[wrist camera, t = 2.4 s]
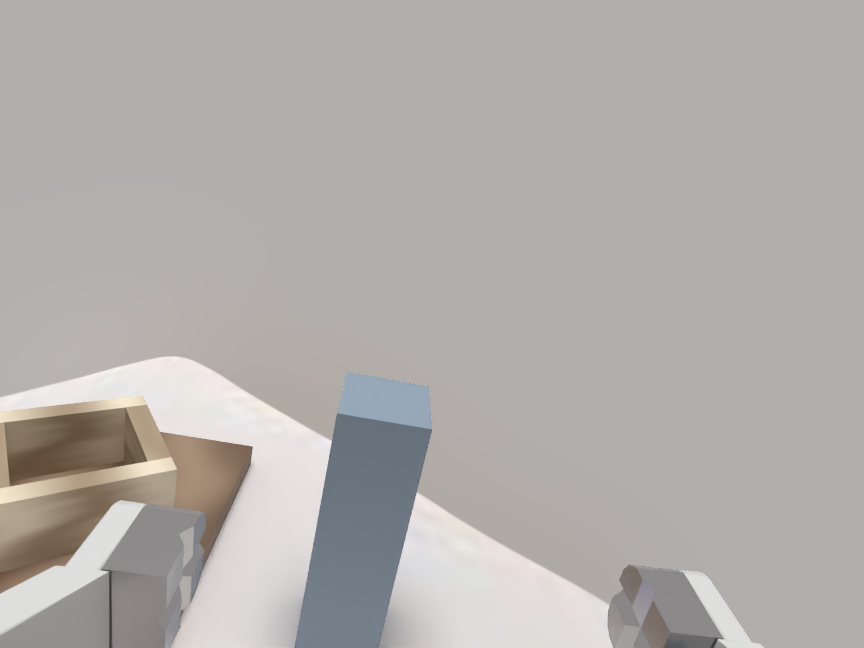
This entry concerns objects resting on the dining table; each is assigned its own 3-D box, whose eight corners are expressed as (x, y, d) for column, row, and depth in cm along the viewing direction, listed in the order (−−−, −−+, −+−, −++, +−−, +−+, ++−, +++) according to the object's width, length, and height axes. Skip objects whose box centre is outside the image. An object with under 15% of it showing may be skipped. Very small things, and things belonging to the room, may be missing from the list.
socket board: (-225, 620, 24) (-249, 518, 22) (20, 428, 39) (17, 357, 37) (158, 663, 26) (165, 572, 24) (250, 463, 41) (258, 398, 39)
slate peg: (292, 659, 27) (337, 413, 23) (306, 594, 31) (347, 372, 26) (372, 669, 28) (432, 429, 23) (376, 603, 31) (428, 386, 27)
